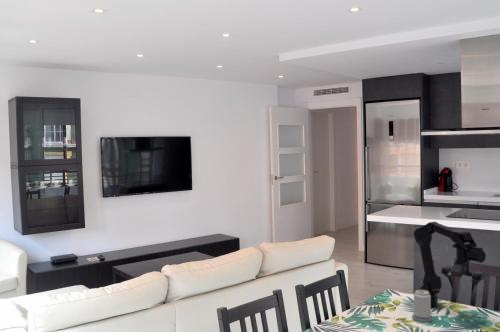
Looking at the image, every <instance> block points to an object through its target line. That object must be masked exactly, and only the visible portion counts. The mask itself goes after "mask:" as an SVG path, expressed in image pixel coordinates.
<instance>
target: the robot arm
mask: <svg viewBox="0 0 500 332" xmlns="http://www.w3.org/2000/svg"><path fill="white" fill-rule="evenodd" d="M435 233H437V234H440V235H442V236H445V237H447V238H449V239H450V241H452V242H453V243H454V244H453V245H451V246H452V248H454V249H455V253H456V254H455V260H454V263H453V265H452V266H450V265H445V266H442V268H441V269H440V271H441V272H440V273H441V274H443V276H444V277H446V278H448V281H449V284H450V286H451V289H452V290H454V289H455V287H456V284H455V283H456V278H459V279H460V278H462V277H463V276H466V277H471V279H470V280H471V293H472V294H474V293H475V291H476V289H477V287H478V284H479V283H480V282H481V281H483V280H485V279H486V277H487V276H486V273H485V272H484V271H477V270H476V271H474V272H471V270H472V269H471V268H470V267H471V266H470V263H471V261H472V262H476V263H480V264H482V263H484V262H485V261H486V257H487V254H486V252H485V251H484V250H483V247H481V246H479V247H478V246H477V245H478V244H477V243H476V242H475V240H474V238H473V237H472V234H471V232H469V231H468V230H464V229H463V230H462V229H455V228H451V227H449V226H447V225H444V224H441V223H439V222H437V221H431V222H428V223H426V224H424V225H422V226H421V227H418V228H416V229H414V231H413V237H414V240H415V242H416V243H417V244H418V245H419V247H420V248H419V249H420V255H421V259H422V265H423V271H424V276H423V279H422V286H420V288H419V289H418V290H426V291H428V292H429V294H430V295H431V308H432V309H433V308H435V307H437V306H439V303H438V296H437V294H440V291H441V289H442V285H443V283H442V279H441V276H439V275H437V273H436V271H435V266H434V260H433V253H432V249H431V244H432V240H433V235H434V234H435Z"/></svg>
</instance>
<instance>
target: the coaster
mask: <svg viewBox="0 0 500 332" xmlns="http://www.w3.org/2000/svg"><path fill="white" fill-rule="evenodd" d="M411 317H412V320H413V321H415V322H417V321H418V323H426V324H427V323H432V322H433V320H434V319H433V318H434V317H433V316H432V315H431V316H430V317H429V318H426V319H422V318H418V317H416V316H415V315H414V313H413V314H412V316H411Z"/></svg>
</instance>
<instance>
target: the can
mask: <svg viewBox="0 0 500 332" xmlns="http://www.w3.org/2000/svg"><path fill="white" fill-rule="evenodd" d="M431 311H432V309H431V295H430V294H429V292H428V291H426V290H419V289H416V290H415V292H414V293H413V314H414V315H415V316H416V317H418V318H422V319H426V318H429V317H430V316H432V312H431Z"/></svg>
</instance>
